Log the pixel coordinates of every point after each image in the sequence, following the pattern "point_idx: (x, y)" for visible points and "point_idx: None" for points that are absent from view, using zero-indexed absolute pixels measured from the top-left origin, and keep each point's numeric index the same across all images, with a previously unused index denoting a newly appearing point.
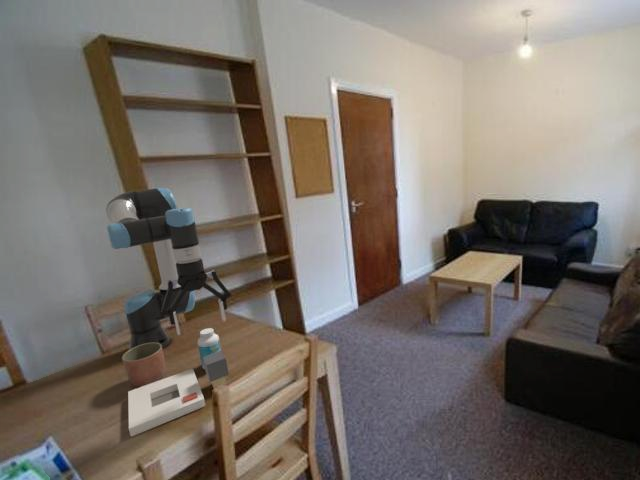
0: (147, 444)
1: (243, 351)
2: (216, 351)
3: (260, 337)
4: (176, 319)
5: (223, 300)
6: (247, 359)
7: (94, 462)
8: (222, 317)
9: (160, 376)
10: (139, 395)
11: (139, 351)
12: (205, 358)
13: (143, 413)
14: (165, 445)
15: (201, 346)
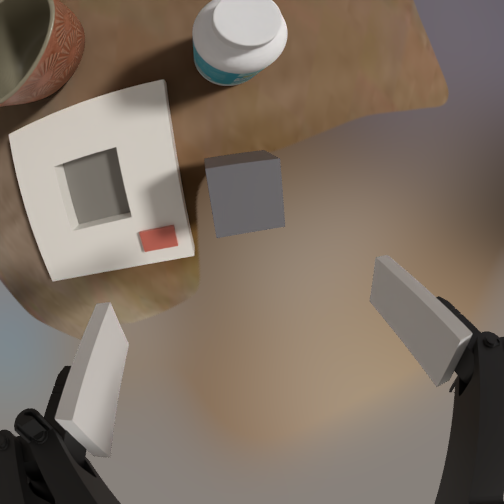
0: (95, 303)
1: (327, 40)
2: (256, 73)
3: (382, 9)
4: (109, 423)
5: (454, 386)
6: (329, 90)
7: (32, 302)
8: (381, 295)
9: (72, 74)
10: (33, 164)
11: (6, 10)
12: (215, 187)
13: (61, 245)
14: (128, 318)
15: (205, 60)
